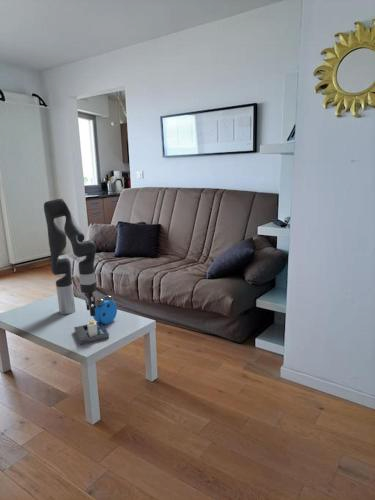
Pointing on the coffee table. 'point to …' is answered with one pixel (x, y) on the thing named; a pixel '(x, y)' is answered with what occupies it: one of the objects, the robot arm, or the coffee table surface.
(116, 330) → the coffee table surface
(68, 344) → the coffee table surface
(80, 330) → the panel
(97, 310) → the alarm clock
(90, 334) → the plug
